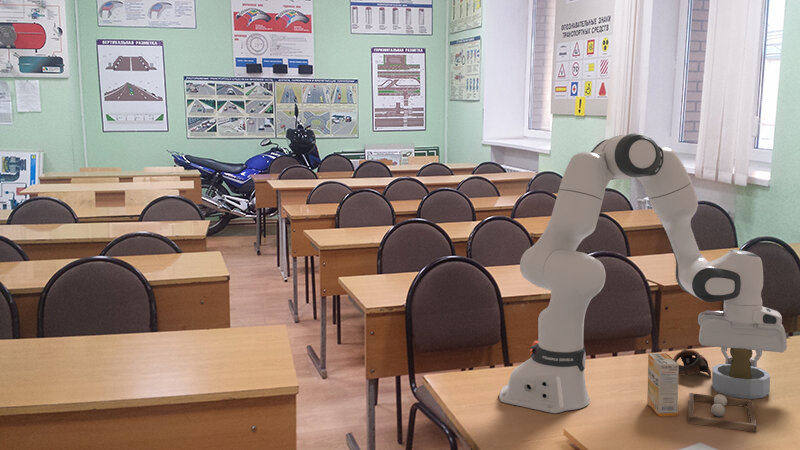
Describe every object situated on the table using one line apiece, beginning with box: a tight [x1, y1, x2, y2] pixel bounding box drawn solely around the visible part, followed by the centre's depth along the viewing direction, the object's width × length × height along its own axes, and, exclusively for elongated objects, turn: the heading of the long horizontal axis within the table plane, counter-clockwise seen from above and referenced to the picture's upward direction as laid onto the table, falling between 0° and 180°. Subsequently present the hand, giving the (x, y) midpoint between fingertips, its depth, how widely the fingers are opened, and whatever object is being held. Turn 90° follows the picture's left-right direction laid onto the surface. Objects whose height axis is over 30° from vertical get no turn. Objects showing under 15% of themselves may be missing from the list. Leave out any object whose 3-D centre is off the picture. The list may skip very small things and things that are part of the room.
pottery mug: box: [672, 348, 712, 378], centre depth 187 cm, size 12×10×8 cm
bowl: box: [711, 363, 771, 400], centre depth 175 cm, size 13×13×5 cm
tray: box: [687, 392, 758, 433], centre depth 160 cm, size 14×16×2 cm
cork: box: [729, 348, 753, 379], centre depth 174 cm, size 6×6×11 cm
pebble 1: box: [713, 393, 727, 407], centre depth 164 cm, size 3×3×3 cm
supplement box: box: [646, 352, 680, 417], centre depth 163 cm, size 8×5×13 cm, turn 178°
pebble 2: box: [710, 403, 726, 418], centre depth 159 cm, size 3×3×3 cm
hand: (740, 364), depth 174 cm, fingers open, 4 cm apart
